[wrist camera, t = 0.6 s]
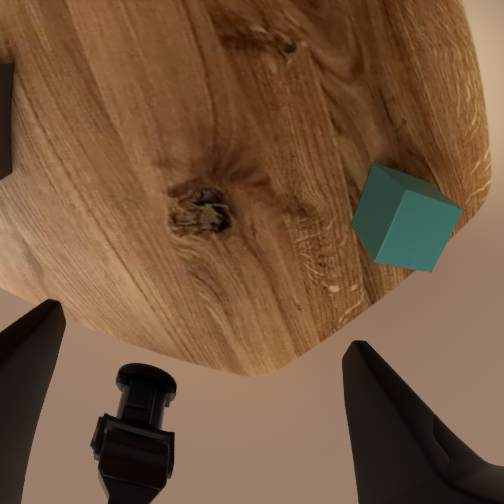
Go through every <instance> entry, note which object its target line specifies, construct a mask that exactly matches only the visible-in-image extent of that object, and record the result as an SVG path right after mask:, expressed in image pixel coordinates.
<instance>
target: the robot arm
mask: <svg viewBox="0 0 504 504" xmlns="http://www.w3.org/2000/svg"><path fill="white" fill-rule="evenodd" d="M65 327H66V319H65V316H64V312H63V309H62V305H61V303H60V302H59V301H57V300H53V299H47V300H45V301H44V302H42V303H41V304H39V305H38V306H37V307H35V308H34V309H32V310H31V311H29V312H28V313H27V314H25V315H24V316H23V317H21V318H19V319H18V320H17V321H15V322H14V323H12V324H11V325H10V326H8V327H7V328H6V329H4V330H3V331H1V332H0V504H21V499H22V493H23V486H24V481H25V477H24V476H25V474H26V469H27V464H28V460H29V455H30V451H31V446H32V442H33V438H34V434H35V430H36V427H37V423H38V419H39V416H40V412H41V409H42V406H43V402H44V399H45V396H46V393H47V390H48V387H49V384H50V380H51V378H52V375H53V372H54V368H55V365H56V361H57V357H58V353H59V349H60V345H61V341H62V338H63V334H64V331H65ZM342 370H343V384H344V400H345V409H346V415H347V420H348V427H349V434H350V440H351V447H352V453H353V461H354V469H355V476H356V484H357V493H358V502H359V504H504V467H503V466H497V465H493V464H490V463H488V462H486V461H484V460H483V459H482V458H480V457H479V456H478V455H477V454H476V453H475V452H474V451H473V450H472V449H470V448H469V447H468V446H467V445H466V444H465V443H464V442H463V441H461V440H460V439H459V438H458V437H457V436H456V435H455V434H454V433H453V432H452V431H451V430H450V429H449V428H448V427H447V426H446V425H445V424H444V423H443V422H442V421H441V420H440V419H439V418H438V416H437V415H435V414H434V412H433V411H432V410H431V409H430V408H429V407H428V406H427V405H426V404H425V403H424V402H423V401H422V400H421V399H420V397H419V396H418V395H417V394H416V393H415V392H414V391H413V390H412V389H411V388H410V387H409V386H408V385H407V384H406V383H405V381H403V380H402V378H401V377H400V376H399V375H398V374H397V373H396V372H395V371H394V370H393V369H392V368H391V367H390V366H389V365H388V363H387V362H385V360H384V359H383V358H382V357H381V356H380V355H379V354H378V353H377V352H376V351H375V350H374V349H373V348H372V347H371V346H370V345H369V344H368V343H367V342H366V341H358V340H355V341H353V342H352V343H351V345H350V346H349V348H348V350H347V351H346V353H345V354H344V356H343V359H342ZM118 377H119V382H120V386H121V390H122V394H121V398H120V403H119V407H118V411H117V415H116V417H113V416H110V415H109V414H106V413H105V414H104V416H103V417H99V419H98V423H97V427H96V430H95V433H94V436H93V438H92V441H91V445H90V446H91V447H92V449H93V451H94V452H93V453H94V460H97V461H99V464H98V478H99V481H100V483H101V486H102V488H103V490H104V492H105V494H106V496H107V498H108V504H151V502H152V501H153V500H154V499H155V498H156V497H157V496H158V495H159V493H160V492H161V491H162V489H163V488H164V487H165V485H166V482H167V479H170V478H171V475H172V471H173V466H174V435H175V433H174V432H167V431H163V430H161V429H162V422H163V415H164V408H165V407H169V405H170V383H169V382H168V381H164V380H159V379H153V378H148V377H143V376H138V375H133V374H128V373H123V372H120V373H119V375H118Z"/></svg>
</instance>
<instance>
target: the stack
mask: <svg viewBox="0 0 504 504" xmlns="http://www.w3.org/2000/svg"><path fill="white" fill-rule="evenodd" d="M13 68H14V63H7V64H0V180H1V179H3V178H5V177H6V176H8V175H9V174H11V173H12V168H11V149H10V108H11V89H12V77H13Z"/></svg>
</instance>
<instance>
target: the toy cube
mask: <svg viewBox="0 0 504 504" xmlns="http://www.w3.org/2000/svg"><path fill="white" fill-rule="evenodd" d="M461 212H462V209H461V208H460V207H459V206H458V205H456V204H455V203H454V202H453V201H451V200H450V199H449V198H448V197H446V196H445V195H444V194H443V193H441V192H440V191H439V190H437V189H436V188H435V187H433V186H432V185H431V184H429V183H428V182H427V181H425V180H422V179H419V178H417V177H414V176H411V175H408V174H406V173H403V172H400V171H397V170H394V169H391V168H388V167H385V166H382V165H379V164H376V163H373V164H372V167H371V170H370V173H369V176H368V179H367V182H366V184H365V187H364V190H363V193H362V195H361V198H360V201H359V203H358V206H357V209H356V211H355V214H354V217H353V219H352V222H351V226H352V227H353V229H354V231H355V232H356V234H357V235H358V237H359V238H360V240H361V242H362V243H363V245H364V246H365V248H366V250H367V251H368V253H369V255H370V256H371V258H372V260H373V261H374V262H375V263H381V264H386V265H392V266H397V267H403V268H408V269H414V270H420V271H425V272H432V270H433V268H434V266H435V264H436V263H437V261H438V259H439V257H440V255H441V253H442V251H443V249H444V247H445V245H446V243H447V241H448V239H449V237H450V235H451V233H452V231H453V229H454V227H455V225H456V223H457V221H458V219H459V216H460V214H461Z"/></svg>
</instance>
